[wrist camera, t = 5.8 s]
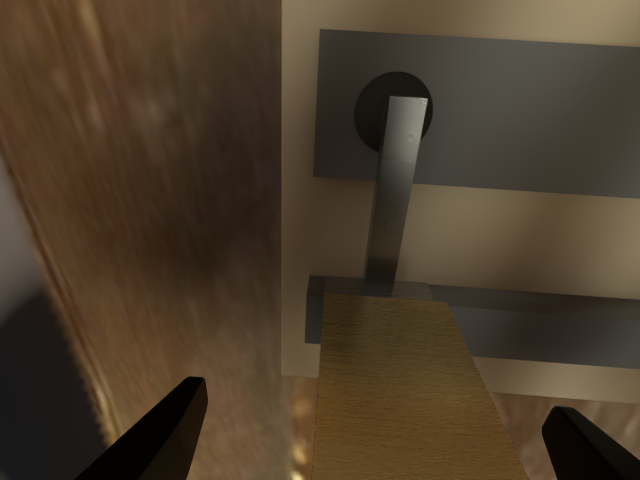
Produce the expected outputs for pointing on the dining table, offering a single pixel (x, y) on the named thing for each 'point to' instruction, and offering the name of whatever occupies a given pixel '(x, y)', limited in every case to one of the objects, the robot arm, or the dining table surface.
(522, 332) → the board with grey bars
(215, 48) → the dining table surface
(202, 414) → the robot arm
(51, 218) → the dining table surface
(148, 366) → the dining table surface
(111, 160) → the dining table surface
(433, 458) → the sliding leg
